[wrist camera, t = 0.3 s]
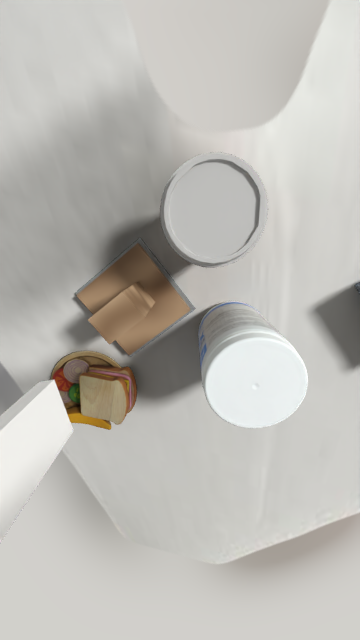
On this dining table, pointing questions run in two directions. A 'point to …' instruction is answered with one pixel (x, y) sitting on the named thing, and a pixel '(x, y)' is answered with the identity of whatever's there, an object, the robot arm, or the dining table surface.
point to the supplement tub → (248, 367)
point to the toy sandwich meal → (94, 388)
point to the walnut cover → (132, 301)
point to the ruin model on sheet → (358, 287)
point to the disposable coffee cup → (214, 209)
